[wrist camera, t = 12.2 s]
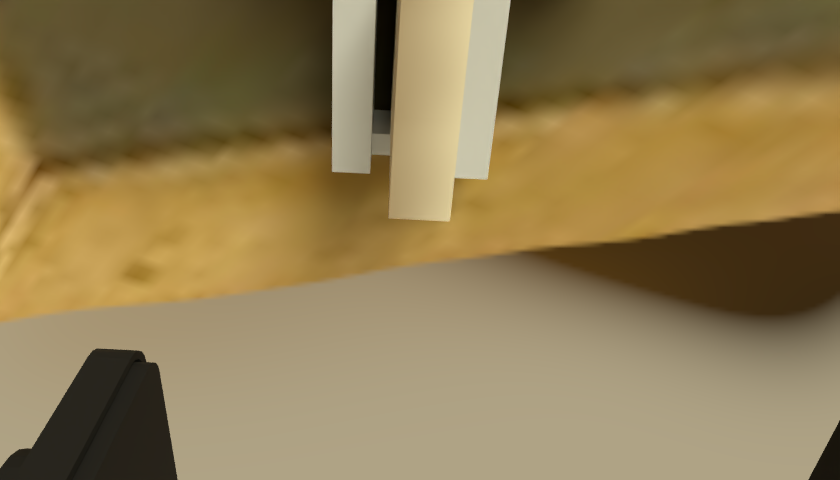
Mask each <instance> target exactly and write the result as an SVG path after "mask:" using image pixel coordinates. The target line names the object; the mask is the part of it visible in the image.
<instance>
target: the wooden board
mask: <svg viewBox="0 0 840 480" xmlns="http://www.w3.org/2000/svg"><path fill="white" fill-rule="evenodd" d="M473 4H474V0H396V16H395V35H394V53H393V72H392V90H391V127H390V172H389V217H388V218H391V219H411V220H431V221H450V215H451V206H452V197H453V188H454V178H455V169H456V160H457V151H458V142H459V133H460V123H461V114H462V105H463V96H464V87H465V78H466V68H467V59H468V50H469V41H470V32H471V23H472V13H473Z"/></svg>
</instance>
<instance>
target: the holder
mask: <svg viewBox="0 0 840 480" xmlns="http://www.w3.org/2000/svg"><path fill="white" fill-rule="evenodd" d="M510 1H511V0H474V4H473V13H472V23H471V32H470V41H469V50H468V59H467V68H466V78H465V87H464V96H463V105H462V114H461V123H460V133H459V142H458V151H457V160H456V169H455V178H468V179H487V178H488V171H489V163H490V155H491V148H492V140H493V132H494V125H495V117H496V109H497V101H498V94H499V86H500V78H501V71H502V63H503V55H504V48H505V40H506V32H507V24H508V17H509V9H510ZM377 18H378V0H333V46H332V172H346V173H367V174H370V168H371V155H390V127H391V111H390V110H374V100H375V73H376V45H377Z"/></svg>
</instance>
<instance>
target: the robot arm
mask: <svg viewBox="0 0 840 480" xmlns="http://www.w3.org/2000/svg"><path fill="white" fill-rule="evenodd" d="M0 480H177V474H176V468H175V462H174V456H173V450H172V444H171V438H170V433H169V426H168V420H167V414H166V408H165V402H164V396H163V390H162V384H161V378H160V372H159V368H158V365H157V364H156V363H149V362H146V359H145V356H144V354H143V353H142V352H141V351H133V350H114V349H95V350H93V351H92V352H91V354H90V355H89V356H88V357H87V359H86V361H85V363H84V364H83V366H82V368H81V369H80V371H79V372H78V374H77V375H76V377H75V379H74V380H73V382H72V384H71V385H70V387H69V388H68V390H67V392H66V393H65V395H64V397H63V398H62V400H61V402H60V403H59V405H58V406H57V408H56V410H55V411H54V413H53V415H52V416H51V418H50V419H49V421H48V423H47V424H46V426H45V428H44V430H43V431H42V433H41V434H40V436H39V437H38V439H37V441H36V442H35V444H34V446H33V447H32V449H19V450H18V451H16V452H15V453H14V454H12V455H11V456H10V457H9V458H8V459H7V460H6V462H5V463H4V464H3V466H2V467H1V468H0ZM809 480H840V421H839V423H838V425H837V427H836V429H835V431H834V432H833V434H832V436H831V438H830V440H829V442H828V444H827V446H826V448H825V450H824V451H823V453H822V455H821V457H820V459H819V461H818V463H817V465H816V467H815V468H814V470H813V472H812V474H811V476H810V478H809Z"/></svg>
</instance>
